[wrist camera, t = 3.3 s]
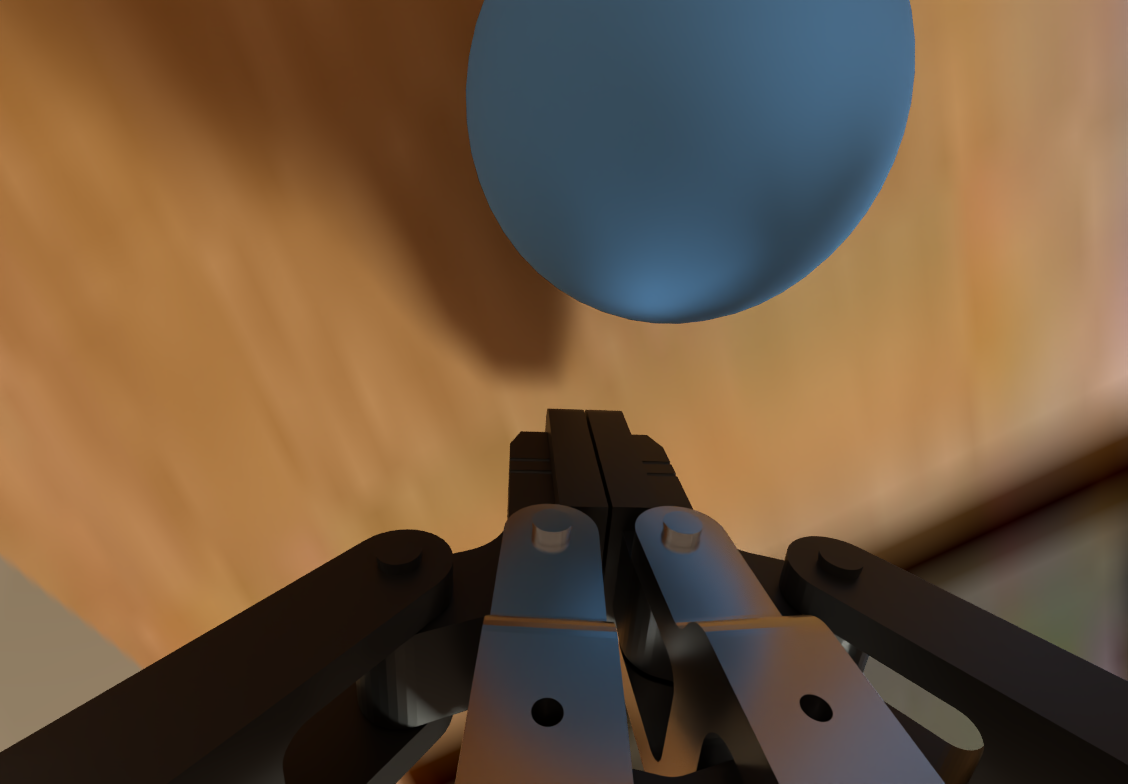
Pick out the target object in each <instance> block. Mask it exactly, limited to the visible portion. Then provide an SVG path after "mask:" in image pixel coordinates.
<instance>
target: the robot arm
mask: <svg viewBox="0 0 1128 784" xmlns="http://www.w3.org/2000/svg"><path fill="white" fill-rule="evenodd" d="M616 628H617V630H616ZM617 632H618V636H619V644H618V636H617ZM869 656H871V657H873V658H874V659H876V660H877V661H879V662H881V663H882V664H884V665H886V666H887V667H889V668H890V669H892V670H894V671H895V672H897V673H899V674H900V675H902V676H904V677H905V678H907V679H908V680H910V681H912V682H913V683H915V684H917V685H918V686H920V687H921V688H923V689H925V690H926V691H928V692H930V693H931V694H933V695H935V696H936V697H938V698H939V699H941V700H943V701H944V702H946V703H948V704H949V705H951V706H953V707H954V708H956V709H957V710H959V711H960V712H962V713H963V714H964V715H965V716H967V717H968V718H969V719H970V720H971V721H972V722H973V723H974V725H975V726H976V727H977V729H978V730H979V732H980V734H981V736H982V739H983V743H984V746H983V747H982V748H981V749H978V750H973V751H970V750H963V749H960V748H957V747H955V746H952V745H951V744H949V743H947V742H946V741H944V740H943V739H941V738H940V737H938V736H937V735H935V734H933V733H932V732H930V731H929V730H927V729H926V728H924V727H923V726H921V725H920V724H918V723H917V722H915V721H914V720H912V719H911V718H909V717H907V716H906V715H904V714H903V713H901V712H900V711H898V710H897V709H895V708H894V707H892V706H891V705H889V704H888V703H886V702H884V701H883V700H882V698H881V697H880V696H879V694H878V693H877V692H876V690H875V689H874V688H873V686H872V685H871V684H870V682H869V681H868V680H867V678H866V677H865V676H864V674H863V671H864V668H865V665H866V662H867V660H868V657H869ZM625 703H626V707H627V710H628V714H629V718H630V721H631V725H632V728H633V732H634V735H635V739H636V743H637V746H638V750H639V753H640V757H641V760H642V764H643V767H644V771H645V772H644V771H640V770H635V769H632V764H631V754H630V745H629V736H628V727H627V718H626V709H625ZM466 710H468V712H467V717H466V723H465V729H464V735H463V741H462V746H461V752H460V758H459V764H458V769H457V775H456V781H455V784H1128V681H1126V680H1124V679H1122V678H1120V677H1118V676H1116V675H1114V674H1112V673H1110V672H1108V671H1106V670H1104V669H1102V668H1100V667H1098V666H1096V665H1094V664H1092V663H1090V662H1088V661H1086V660H1084V659H1082V658H1080V657H1078V656H1076V655H1074V654H1072V653H1070V652H1068V651H1066V650H1064V649H1062V648H1060V647H1058V646H1056V645H1054V644H1052V643H1050V642H1048V641H1046V640H1044V639H1042V638H1040V637H1037V636H1035V635H1033V634H1031V633H1029V632H1027V631H1025V630H1023V629H1021V628H1019V627H1017V626H1015V625H1013V624H1011V623H1009V622H1007V621H1005V620H1003V619H1001V618H999V617H997V616H995V615H993V614H991V613H989V612H987V611H985V610H983V609H981V608H979V607H977V606H975V605H973V604H971V603H969V602H967V601H965V600H963V599H961V598H959V597H957V596H955V595H953V594H951V593H949V592H947V591H945V590H943V589H941V588H939V587H937V586H935V585H933V584H931V583H929V582H927V581H925V580H923V579H921V578H919V577H917V576H915V575H913V574H911V573H909V572H907V571H905V570H903V569H901V568H899V567H897V566H895V565H893V564H891V563H889V562H887V561H885V560H883V559H881V558H879V557H877V556H875V555H873V554H871V553H869V552H867V551H865V550H863V549H861V548H859V547H856V546H854V545H852V544H849V543H847V542H844V541H841V540H837V539H833V538H828V537H819V536H809V537H803V538H800V539H797V540H795V541H793V542H792V543H791V544H790V545H789V547H788V549H787V553H786V557H785V561H784V560H780V559H775V558H770V557H766V556H761V555H757V554H752V553H748V552H745V551H741V550H738V549H737V548H736V546H735V545H734V543H733V542H732V540H731V539H730V537H729V536H728V534H727V533H726V531H725V530H724V529H723V527H722V526H721V525H720V524H719V523H718V522H716V521H715V520H714V519H712V518H711V517H709V516H707V515H705V514H703V513H701V512H698V511H695V510H693V508H692V506H691V504H690V502H689V500H688V498H687V496H686V494H685V492H684V490H683V488H682V485H681V483H680V481H679V479H678V477H677V476H676V473H675V471H674V469H673V467H672V465H671V464H670V461H669V459H668V457H667V455H666V453H665V451H664V449H663V447H662V446H660V445H659V444H658V443H656V442H655V441H654V440H653V439H651V438H650V437H649V436H647V435H631V433H630V430H629V428H628V425H627V423H626V420H625V418H624V415H623V413H622V411H607V410H585V413H584V410H574V409H547V415H546V428H545V432H523V431H521V432H520V433H519V434H518V435H517V437H516V438H515V439H514V440H513V441H512V442H511V443H510V462H509V487H508V514H507V521H506V523H505V526H504V531H503V532H502V533H501V534H500V535H499V536H498V537H497V538H496V539H494V540H493V541H491V542H490V543H488V544H486V545H484V546H481V547H478V548H475V549H472V550H468V551H463V552H458V553H454V554H453V553H452V550H451V548H450V547H449V545H448V544H447V543H446V542H445V541H444V540H443V539H441V538H440V537H438V536H436V535H434V534H432V533H428V532H425V531H420V530H408V529H406V530H395V531H389V532H385V533H381V534H378V535H375V536H373V537H371V538H369V539H367V540H365V541H363V542H361V543H360V544H358V545H356V546H354V547H353V548H351V549H349V550H348V551H346V552H344V553H342V554H341V555H339V556H337V557H336V558H334V559H332V560H330V561H329V562H327V563H325V564H323V565H322V566H320V567H318V568H317V569H315V570H313V571H311V572H310V573H308V574H306V575H305V576H303V577H301V578H299V579H298V580H296V581H294V582H293V583H291V584H289V585H287V586H286V587H284V588H282V589H281V590H279V591H277V592H275V593H274V594H272V595H270V596H268V597H267V598H265V599H263V600H262V601H260V602H258V603H256V604H255V605H253V606H251V607H250V608H248V609H246V610H244V611H243V612H241V613H239V614H238V615H236V616H234V617H232V618H231V619H229V620H227V621H225V622H224V623H222V624H220V625H219V626H217V627H215V628H213V629H212V630H210V631H208V632H207V633H205V634H203V635H201V636H200V637H198V638H196V639H195V640H193V641H191V642H189V643H188V644H186V645H184V646H183V647H181V648H179V649H177V650H176V651H174V652H172V653H170V654H169V655H167V656H165V657H164V658H162V659H160V660H158V661H157V662H155V663H153V664H152V665H150V666H148V667H146V668H145V669H143V670H141V671H140V672H138V673H136V674H134V675H133V676H131V677H129V678H127V679H126V680H124V681H122V682H121V683H119V684H117V685H115V686H114V687H112V688H110V689H109V690H107V691H105V692H103V693H102V694H100V695H98V696H97V697H95V698H93V699H91V700H90V701H88V702H86V703H85V704H83V705H81V706H79V707H78V708H76V709H74V710H72V711H71V712H69V713H68V714H66V715H64V716H62V717H60V718H59V719H57V720H55V721H54V722H52V723H50V724H49V725H47V726H45V727H43V728H42V729H40V730H38V731H36V732H35V733H33V734H31V735H30V736H28V737H26V738H24V739H23V740H21V741H19V742H18V743H16V744H14V745H12V746H11V747H9V748H7V749H5V750H4V751H2V752H0V784H396V783H397V782H398V781H399V780H400V779H401V778H402V776H403V775H404V774H405V773H406V772H407V771H408V770H409V769H410V768H411V767H412V766H413V765H414V764H415V763H416V762H417V761H418V760H419V759H420V758H421V757H422V756H423V755H424V754H425V753H426V752H427V751H428V750H429V749H430V748H431V747H432V746H433V745H434V744H435V743H436V741H437V740H438V739H439V738H440V737H441V736H442V735H443V734H444V732H445V731H446V730H447V728H448V726H449V724H450V722H451V719H452V716H453V715H454V714H457V713H460V712H463V711H466Z"/></svg>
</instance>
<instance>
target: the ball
mask: <svg viewBox="0 0 1128 784" xmlns="http://www.w3.org/2000/svg"><path fill="white" fill-rule="evenodd" d="M914 74H915V37H914V28H913V19H912V10H911V6H910V2H909V0H484V2H483V5H482V8H481V11H480V14H479V17H478V20H477V23H476V26H475V31H474V36H473V40H472V45H471V50H470V54H469V62H468V73H467V83H466V111H467V126H468V133H469V140H470V147H471V153H472V157H473V160H474V164H475V168H476V171H477V175H478V179H479V182H480V184H481V187H482V189H483V192H484V194H485V196H486V199H487V201H488V204H489V206H490V208H491V210H492V212H493V214H494V216H495V217H496V219H497V221H498V223H499V224H500V226H501V228H502V230H503V232H504V233H505V234H506V236H507V237H508V238H509V240H510V241H511V243H512V244H513V245H514V247H515V248H516V249H517V251H518V252H519V253H520V254H521V256H522V257H523V258H524V259H525V260H526V261H527V262H528V263H529V264H530V265H531V266H532V267H533V268H534V269H535V270H536V271H537V272H538V273H539V274H540V275H542V276H543V277H544V278H545V279H547V280H548V281H549V282H550V283H552V284H553V285H554V286H555V287H557V288H558V289H559V290H561V291H563V292H564V293H566V294H568V295H569V296H571V297H573V298H574V299H576V300H578V301H579V302H582V303H584V304H586V305H589V306H591V307H593V308H595V309H598V310H600V311H603V312H605V313H609V314H612V315H616V316H619V317H623V318H626V319H630V320H636V321H643V322H650V323H672V324H680V323H689V322H698V321H705V320H710V319H714V318H718V317H723V316H727V315H731V314H735V313H738V312H740V311H743V310H746V309H748V308H751V307H754V306H756V305H759V304H761V303H763V302H765V301H767V300H769V299H771V298H772V297H774V296H776V295H778V294H780V293H782V292H784V291H785V290H787V289H788V288H790V287H791V286H793V285H794V284H796V283H797V282H799V281H800V280H802V279H803V278H804V277H806V276H807V275H808V274H809V273H810V272H812V271H813V270H814V269H815V268H816V267H817V266H819V265H820V264H821V263H822V262H823V261H825V260H826V259H827V258H828V257H829V256H830V255H831V254H832V253H833V252H834V251H835V250H836V249H837V248H838V247H839V246H840V245H841V244H842V243H843V242H844V240H845V239H846V238H847V237H848V236H849V235H850V234H851V232H852V231H853V230H854V229H855V227H856V226H857V225H858V223H859V222H860V221H861V219H862V218H863V217H864V215H865V214H866V213H867V211H868V210H869V208H870V206H871V205H872V203H873V201H874V200H875V198H876V196H877V195H878V193H879V191H880V190H881V188H882V186H883V184H884V182H885V180H886V178H887V175H888V173H889V171H890V169H891V167H892V165H893V163H894V160H895V157H896V155H897V152H898V149H899V146H900V143H901V140H902V137H903V135H904V131H905V127H906V123H907V118H908V114H909V110H910V105H911V99H912V91H913V82H914Z"/></svg>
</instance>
